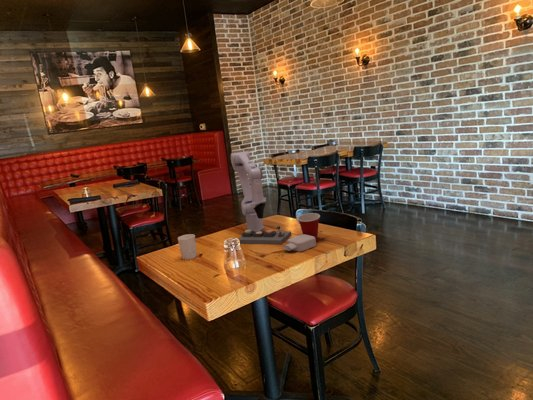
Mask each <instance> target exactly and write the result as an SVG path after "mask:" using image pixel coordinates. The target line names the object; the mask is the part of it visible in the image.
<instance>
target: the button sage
mask: <svg viewBox="0 0 533 400" xmlns="http://www.w3.org/2000/svg"><path fill="white" fill-rule="evenodd" d="M244 232H245V234H250V233H251V229H248V228H247V229H245V230H244Z"/></svg>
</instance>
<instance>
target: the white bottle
mask: <svg viewBox="0 0 533 400" xmlns="http://www.w3.org/2000/svg"><path fill="white" fill-rule="evenodd" d="M286 242H287V244H284V245H283V247H282V248H281V249H282V250H284V251H288V252H290V251H295V252H299V253H301V252H303V251H306V250H308V249H312V248H314V247H316V246H317V241H316V239H315V237H313V236H310V235H306V234H303V233H302V234H300V235H297V236H294V237H291V238H290V237H289V238H288V239H287V240H286Z"/></svg>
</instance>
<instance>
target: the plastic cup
mask: <svg viewBox="0 0 533 400" xmlns="http://www.w3.org/2000/svg"><path fill="white" fill-rule="evenodd" d="M320 218H321V215H320V214H319V213H316V212H314V213H313V212H310V213H309V212H308V213H307V212H306V213H304V214H301V215H299V216H297V217H296V220H297V221H298V222H299V225H300V229H301V233H302V234H306V235H310V236H313V237H315V239H316V242H317V241H318V234H319V223H320Z"/></svg>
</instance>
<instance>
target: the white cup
mask: <svg viewBox="0 0 533 400" xmlns="http://www.w3.org/2000/svg"><path fill="white" fill-rule="evenodd" d="M177 241H178V246H179V251H180V254H181V258H182V259H183V260H184V259H185V260H193V259H196V258H197V256H198V254H197V242H196V235H195V234H194V233H193V234H191V233H189V234H182V235H180V236H178V237H177ZM185 260H184V261H185Z"/></svg>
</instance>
